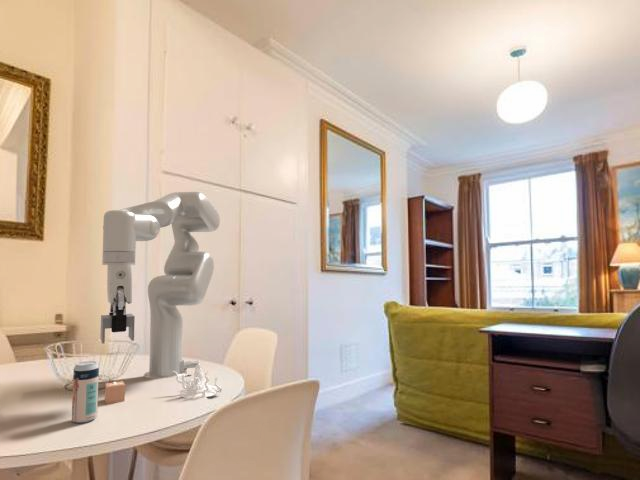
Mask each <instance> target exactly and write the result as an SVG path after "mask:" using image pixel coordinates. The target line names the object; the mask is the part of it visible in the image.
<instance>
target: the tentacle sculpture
mask: <svg viewBox="0 0 640 480" xmlns="http://www.w3.org/2000/svg"><path fill="white" fill-rule="evenodd" d="M196 359H197V360H196V361H197V365H196V366H195V368H194V372H193V378H191V379H189V380H188V379H186V380H185V377H186V376H188V374H183V375H181V380H180V378H179V376H178V374H177V372H175V371H172V372H174V373H175V374H176V378H175V379H176V381H177V383H178V384H181V385H182V389H183V390H184V391H181V392H180V395H181V397H182V398H185V399H199V398H208V397H213V396H215V395H216V394H217V393H221V392H222V391H223V388H222V387H221V386H220V385H218V384H217V379H218V378H219V375H217V376H216V377H215V379H214V380H213V381H214V385H210V384H209V381H210V377H209V376H207V375H208V373H209V372H208V371H207V372H205V374H204V372H203V369H202V365H201V364H200V360H199V358H198V357H197V358H196Z"/></svg>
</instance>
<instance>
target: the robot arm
mask: <svg viewBox="0 0 640 480" xmlns="http://www.w3.org/2000/svg"><path fill="white" fill-rule="evenodd" d="M220 221H221V219H220V214H219V213H218V210H217V209H216V207H215V206H214V205H213V203H212V202H211V201H210V199H209V198H208V197H207V196H206V195H205V194H203V193H202V192H200V191H176V192H170V193H168V194H167V195H166V194H165V196H162V197H160V198H158V199H156V200H153V201H149V202H145V203H141V204H138V205H133V206H129V207H126V208H122V209H119V210H118V209H117V210H116V209H115V210H114V209H113V210H107V211H106V212H105V213H104V215H103V225H102V265H103V266H107V270H106V272H107V276H106V277H107V279H106V285H107V289H106V290H107V302H108V303H109V304H110V305H109V311H110V312H108V313H109V314H108V315H113V316H112V328H110V329H111V333H122V332H126V331H127V327H126V319H127V315H126V314H127V305H126V304H128V305H130V304H131V303H133V291H132V290H133V285H132V284H133V278H132V275H133V273H132V266H135V265H136V247H137V246H136V244H137V243H136V242H149V241H152V240H154V239H155V238H157V237H158V236H159V233H160V231H161V229H162V228H166V227H168V226H170V225H171V228H172V233H173V238H174V243H173V246H172V249H171V250H170V252H169V254H168V256H167V258H166V261H165V263H164V267H163V271H164V274H165V275H164V274H162V275H158V276H156V277H153V278H152V279H151V280H150V281H149V283H148V285H147V295H148V302H149V308H150V309H149V311H150V323H149V324H150V331H149V361H148V362H149V365H148V366H149V369H148V371H147V372H145V373H144V374H143V378H144V377H145V378H147V379H169V378H175V377H176V374H175V373H174V372H172V371H175V372H177V374H178V377H179V376H183V374H186V375H188V373H187V369H193V368H194V369H195V366H196V365H197V360H196V361H191V360H189V361H185V360H183V359H182V358H183V322H184V321H183V316H182V314H181V312H180V310H179V309H178V307H177V306H187V307H189V306H197V305H200V304H202V302H203V301H204V299H205V296H206V293H207V291H208V288H209V285H210V282H211V280H212V276H213V273H214V267H215V265H214V258H213V257H212V254H210V253H209V252H207V251H199V248H200V246H199V243H198V242H197V240H196V238H195V237H194V236H193V235H192V234H191V233H210V232H215V231H216V230H218V228H219V226H220V223H221V222H220Z"/></svg>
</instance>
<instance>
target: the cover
mask: <svg viewBox="0 0 640 480" xmlns="http://www.w3.org/2000/svg"><path fill="white" fill-rule="evenodd" d="M126 315H127V319H126V328H128V336H127V337H128V339H130V340H131V342H134V341H135V315H134V314H132V313H126ZM112 316H113V315H109V314H104V315H100V337H99V338H100V339H99V340H100V341H101V344H103V345H104V344H105V341H106V340H105V338H106V336H105V335H106V333H105V332H106V330H107V329H112Z"/></svg>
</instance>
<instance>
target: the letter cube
mask: <svg viewBox="0 0 640 480" xmlns="http://www.w3.org/2000/svg"><path fill="white" fill-rule="evenodd" d="M104 388H105V390H104V401H105V405H108V404H114V403H120V402H121V403H122V402H126V401H125V400H126V399H125V398H126V397H125V395H126V392H125V391H126V384H125V382H124V380H120V381H113V382H106V383H105V386H104Z"/></svg>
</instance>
